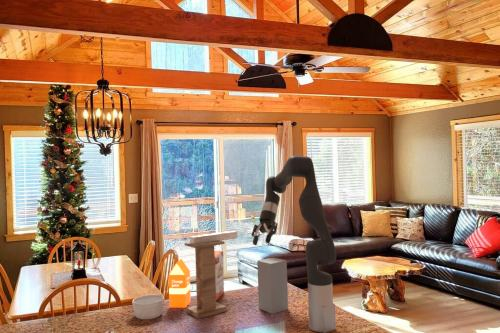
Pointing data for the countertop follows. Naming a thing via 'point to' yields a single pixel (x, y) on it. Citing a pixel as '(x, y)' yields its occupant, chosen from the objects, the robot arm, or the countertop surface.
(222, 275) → the cracker box
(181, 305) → the orange juice
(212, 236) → the bar
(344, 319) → the countertop surface
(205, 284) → the wooden pedestal
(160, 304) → the ramekin
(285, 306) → the plinth
